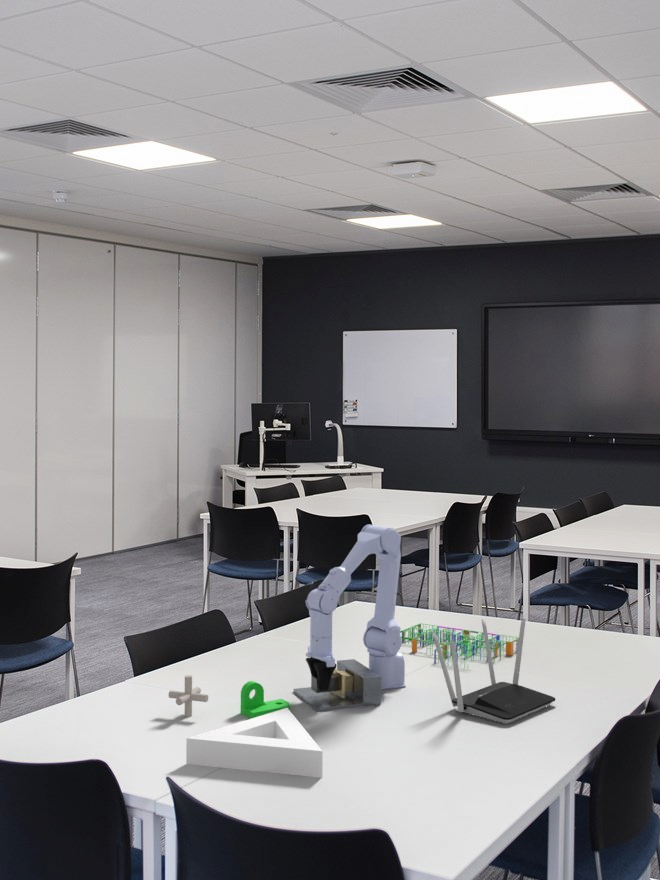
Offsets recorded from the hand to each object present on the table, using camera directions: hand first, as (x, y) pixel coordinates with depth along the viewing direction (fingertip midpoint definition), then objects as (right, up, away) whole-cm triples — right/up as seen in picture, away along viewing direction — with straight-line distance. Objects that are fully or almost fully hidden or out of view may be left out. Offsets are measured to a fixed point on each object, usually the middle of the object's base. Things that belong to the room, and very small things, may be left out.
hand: (320, 687), depth 260 cm
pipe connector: (-32, -4, -14) cm, 35 cm away
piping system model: (+40, -2, +51) cm, 64 cm away
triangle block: (-16, -6, -42) cm, 46 cm away
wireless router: (+45, -4, -4) cm, 45 cm away
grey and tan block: (+3, -2, +2) cm, 4 cm away
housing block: (+4, -3, +2) cm, 6 cm away
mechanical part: (-13, -4, -10) cm, 17 cm away
